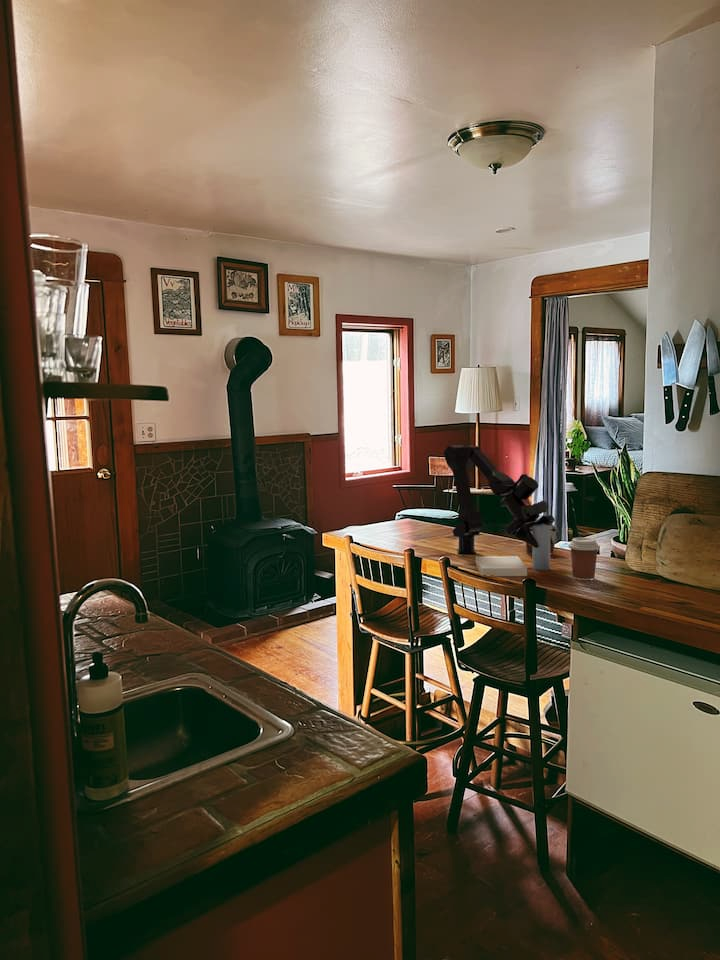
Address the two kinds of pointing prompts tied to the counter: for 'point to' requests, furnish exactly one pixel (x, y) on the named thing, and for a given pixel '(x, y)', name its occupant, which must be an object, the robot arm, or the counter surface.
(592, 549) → the coffee cup
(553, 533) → the food container
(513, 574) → the shelf board
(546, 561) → the grey pillar
